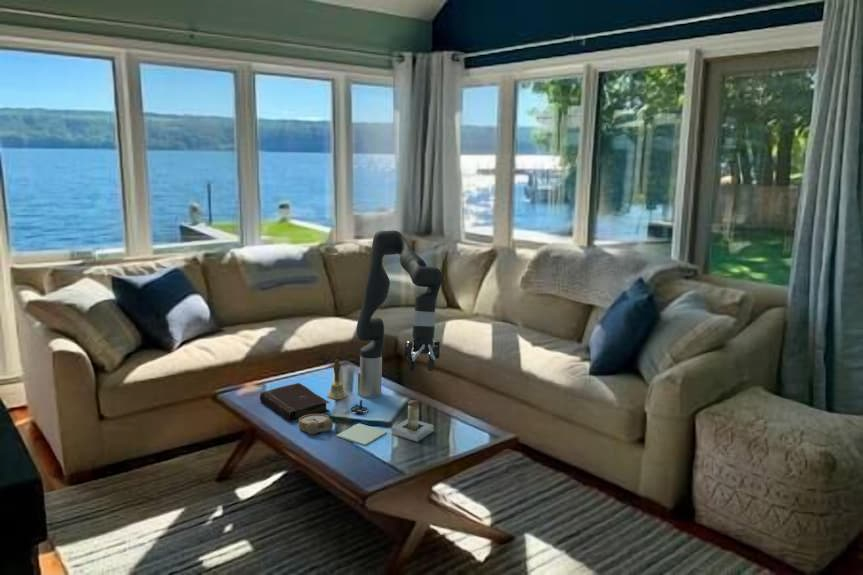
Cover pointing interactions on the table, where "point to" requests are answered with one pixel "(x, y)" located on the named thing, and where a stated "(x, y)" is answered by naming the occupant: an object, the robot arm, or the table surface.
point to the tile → (361, 434)
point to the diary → (294, 401)
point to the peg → (413, 415)
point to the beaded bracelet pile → (358, 408)
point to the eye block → (410, 434)
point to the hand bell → (336, 385)
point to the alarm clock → (315, 423)
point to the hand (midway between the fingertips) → (420, 371)
